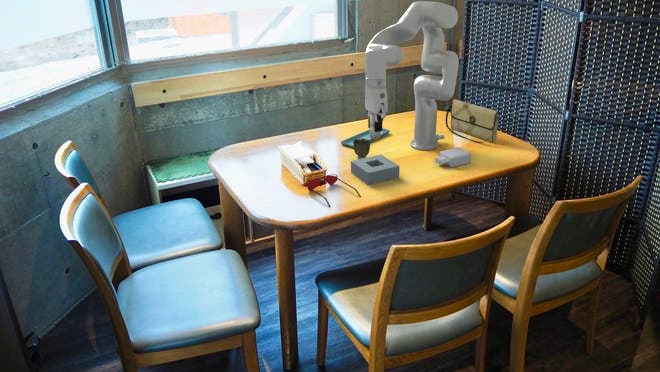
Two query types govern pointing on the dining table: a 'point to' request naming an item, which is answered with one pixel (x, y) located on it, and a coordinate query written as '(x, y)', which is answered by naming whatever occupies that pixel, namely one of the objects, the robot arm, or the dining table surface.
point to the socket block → (375, 169)
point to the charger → (453, 157)
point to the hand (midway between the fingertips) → (375, 129)
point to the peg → (372, 133)
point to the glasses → (329, 180)
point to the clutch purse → (473, 120)
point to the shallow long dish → (363, 135)
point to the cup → (361, 147)
